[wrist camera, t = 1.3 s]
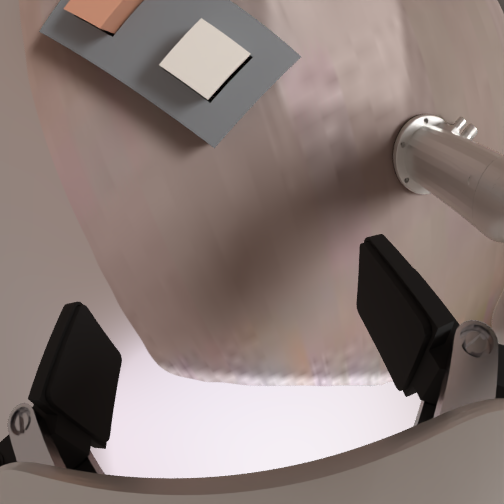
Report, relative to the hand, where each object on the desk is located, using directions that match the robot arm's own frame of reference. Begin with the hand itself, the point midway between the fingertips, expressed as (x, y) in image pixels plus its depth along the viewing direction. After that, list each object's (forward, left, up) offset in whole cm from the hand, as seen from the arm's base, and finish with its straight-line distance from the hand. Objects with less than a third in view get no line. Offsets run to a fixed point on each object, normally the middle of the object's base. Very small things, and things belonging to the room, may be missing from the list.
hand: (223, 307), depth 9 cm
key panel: (-6, -14, -29) cm, 33 cm away
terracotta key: (-6, -21, -26) cm, 34 cm away
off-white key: (-6, -7, -26) cm, 28 cm away
